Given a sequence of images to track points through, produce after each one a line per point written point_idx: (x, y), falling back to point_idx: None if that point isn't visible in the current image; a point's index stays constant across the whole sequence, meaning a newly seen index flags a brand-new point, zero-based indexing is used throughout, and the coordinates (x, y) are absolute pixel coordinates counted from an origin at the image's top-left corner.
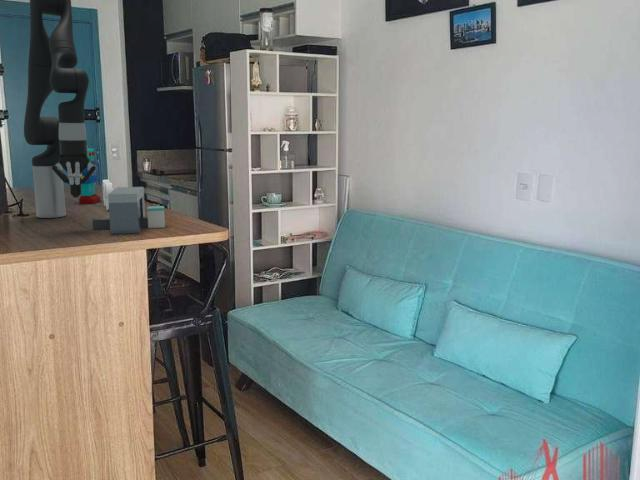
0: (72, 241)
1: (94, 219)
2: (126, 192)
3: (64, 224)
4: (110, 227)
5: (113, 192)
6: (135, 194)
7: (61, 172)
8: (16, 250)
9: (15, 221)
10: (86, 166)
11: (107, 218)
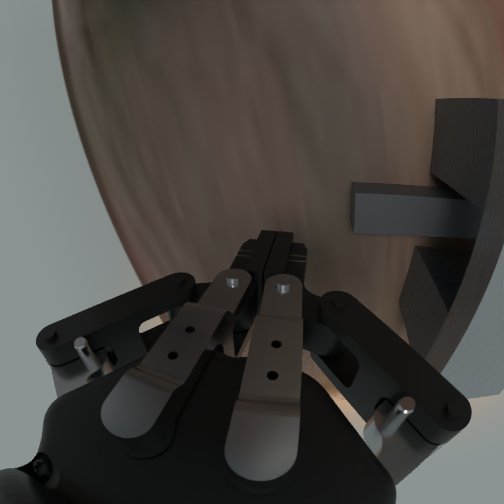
0: (303, 361)
1: (361, 221)
2: (494, 367)
3: (218, 72)
4: (403, 313)
5: (457, 364)
6: (495, 392)
7: (130, 357)
8: None
9: (73, 35)
10: (357, 440)
11: (410, 209)
